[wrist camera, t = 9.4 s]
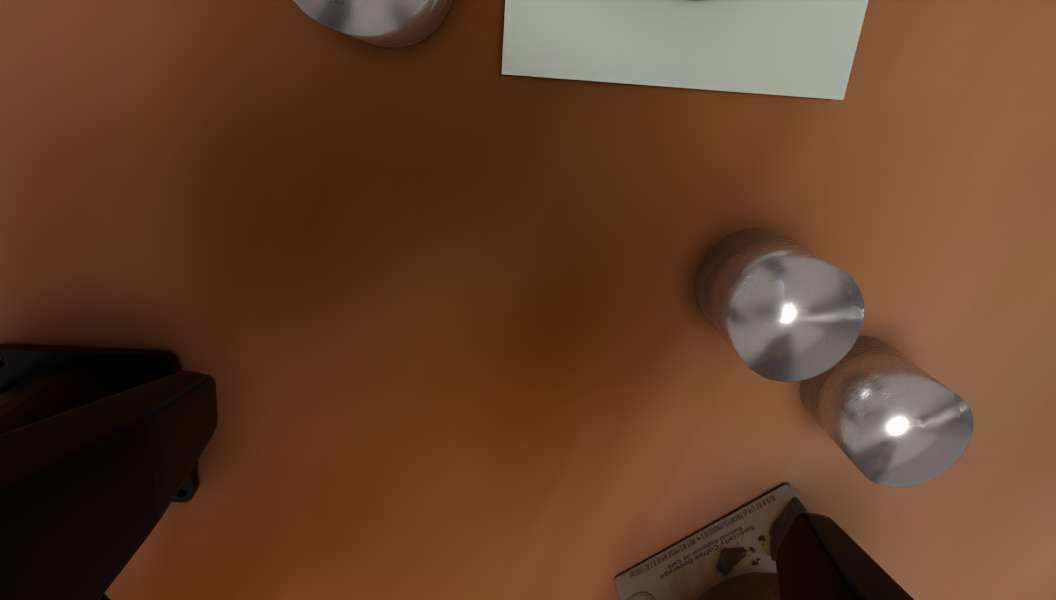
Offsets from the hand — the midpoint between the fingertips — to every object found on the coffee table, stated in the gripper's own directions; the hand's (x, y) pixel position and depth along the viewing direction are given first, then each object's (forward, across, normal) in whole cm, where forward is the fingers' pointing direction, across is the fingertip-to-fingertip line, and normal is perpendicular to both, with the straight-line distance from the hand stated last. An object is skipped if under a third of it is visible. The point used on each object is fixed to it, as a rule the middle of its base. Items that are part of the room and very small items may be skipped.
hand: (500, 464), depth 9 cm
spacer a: (+14, -8, +1) cm, 16 cm away
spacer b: (+14, -13, +5) cm, 20 cm away
